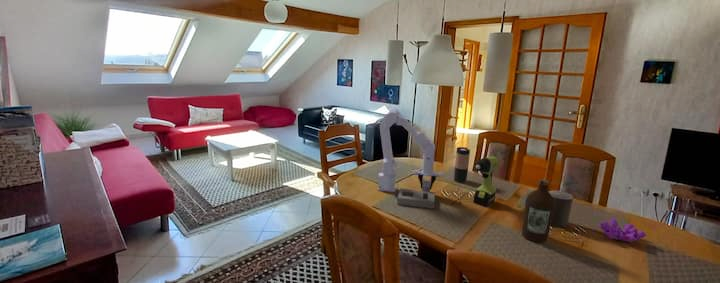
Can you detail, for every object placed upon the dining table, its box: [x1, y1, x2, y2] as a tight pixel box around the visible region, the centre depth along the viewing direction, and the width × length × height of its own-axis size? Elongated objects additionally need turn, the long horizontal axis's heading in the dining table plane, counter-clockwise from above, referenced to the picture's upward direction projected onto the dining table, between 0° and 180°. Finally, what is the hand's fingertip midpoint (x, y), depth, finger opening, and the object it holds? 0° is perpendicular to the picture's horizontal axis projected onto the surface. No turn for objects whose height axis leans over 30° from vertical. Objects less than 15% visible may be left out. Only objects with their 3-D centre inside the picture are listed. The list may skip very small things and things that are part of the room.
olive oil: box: [521, 179, 555, 244], centre depth 130 cm, size 11×11×25 cm
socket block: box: [396, 188, 436, 209], centre depth 163 cm, size 18×12×4 cm, turn 77°
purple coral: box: [599, 219, 647, 242], centre depth 132 cm, size 11×15×10 cm
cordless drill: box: [472, 156, 501, 208], centre depth 158 cm, size 23×7×25 cm, turn 137°
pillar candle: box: [548, 190, 574, 229], centre depth 143 cm, size 10×10×15 cm
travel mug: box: [453, 146, 471, 184], centre depth 189 cm, size 8×8×20 cm
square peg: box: [421, 177, 431, 192], centre depth 172 cm, size 4×4×8 cm
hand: (426, 188), depth 172 cm, fingers closed on square peg, 4 cm apart
